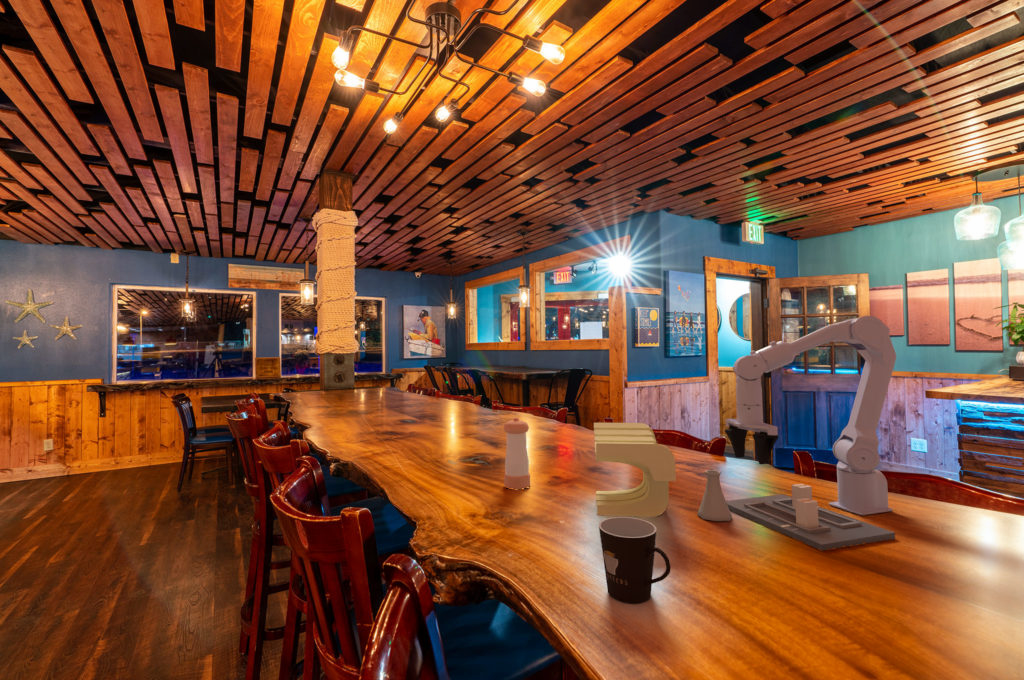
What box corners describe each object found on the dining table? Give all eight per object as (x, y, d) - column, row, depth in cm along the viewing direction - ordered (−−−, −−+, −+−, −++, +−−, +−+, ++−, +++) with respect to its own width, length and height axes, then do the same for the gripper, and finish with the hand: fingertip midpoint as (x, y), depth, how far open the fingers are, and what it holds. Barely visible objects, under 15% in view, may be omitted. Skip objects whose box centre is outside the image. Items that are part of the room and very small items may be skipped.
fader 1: (803, 506, 104) (802, 483, 104) (812, 509, 102) (811, 486, 102) (792, 507, 103) (791, 484, 103) (801, 510, 101) (800, 487, 101)
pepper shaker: (530, 490, 125) (529, 419, 126) (503, 490, 125) (502, 419, 126) (529, 482, 132) (528, 415, 133) (504, 483, 132) (503, 416, 133)
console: (782, 499, 114) (782, 491, 114) (895, 538, 88) (894, 529, 89) (721, 506, 109) (721, 499, 109) (822, 551, 84) (821, 541, 84)
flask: (736, 523, 98) (734, 476, 98) (700, 521, 99) (698, 475, 100) (727, 512, 105) (726, 468, 105) (694, 510, 107) (692, 467, 107)
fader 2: (807, 522, 94) (806, 497, 94) (818, 527, 91) (817, 501, 92) (796, 524, 93) (795, 499, 93) (806, 528, 91) (805, 502, 91)
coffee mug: (594, 580, 74) (592, 518, 75) (645, 577, 75) (644, 515, 75) (616, 622, 63) (614, 547, 63) (677, 618, 63) (675, 544, 64)
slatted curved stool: (677, 531, 94) (674, 444, 95) (598, 528, 97) (596, 443, 97) (655, 489, 124) (653, 422, 124) (595, 487, 126) (593, 422, 127)
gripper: (715, 402, 119) (716, 455, 119) (759, 408, 105) (761, 468, 105) (737, 401, 121) (739, 453, 120) (783, 407, 107) (786, 465, 107)
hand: (751, 460), depth 113 cm, fingers open, 7 cm apart
